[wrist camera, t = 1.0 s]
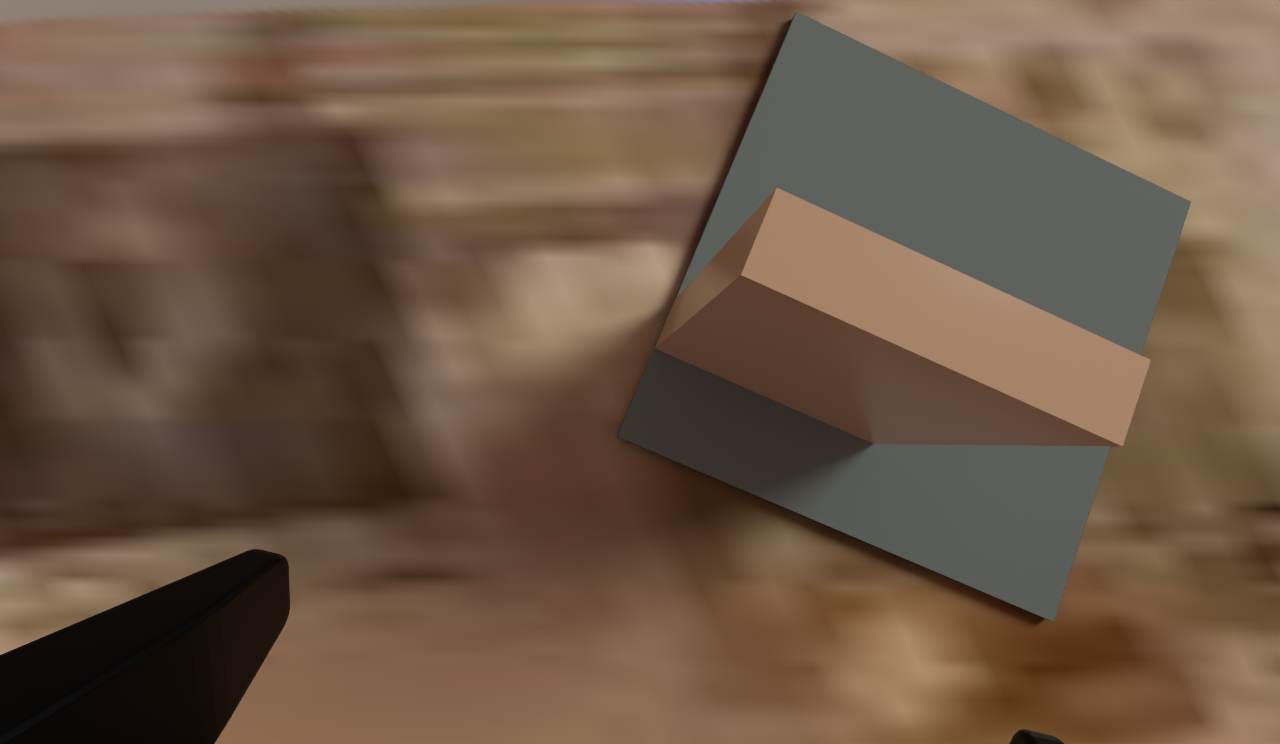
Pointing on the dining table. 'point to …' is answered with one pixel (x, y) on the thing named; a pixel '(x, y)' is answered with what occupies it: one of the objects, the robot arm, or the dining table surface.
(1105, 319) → the mat
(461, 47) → the dining table surface
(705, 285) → the tile
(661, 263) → the dining table surface
